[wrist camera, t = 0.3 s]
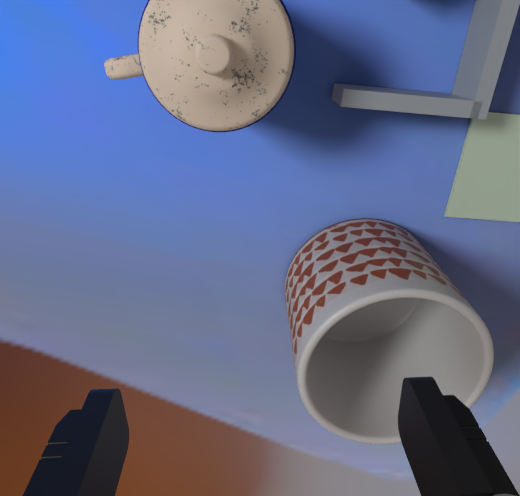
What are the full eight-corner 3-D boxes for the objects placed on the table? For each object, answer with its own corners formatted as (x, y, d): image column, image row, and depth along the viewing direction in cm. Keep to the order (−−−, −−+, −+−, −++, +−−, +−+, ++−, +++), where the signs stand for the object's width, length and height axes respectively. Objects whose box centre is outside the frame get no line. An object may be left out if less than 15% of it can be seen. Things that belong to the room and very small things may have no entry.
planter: (435, 210, 40) (511, 282, 29) (422, 337, 46) (481, 439, 35) (280, 222, 40) (294, 299, 29) (287, 347, 46) (300, 452, 35)
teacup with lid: (275, -34, 32) (290, -65, 22) (291, 100, 36) (310, 129, 25) (108, -4, 33) (42, -20, 22) (142, 124, 36) (99, 163, 26)
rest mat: (473, 110, 37) (475, 111, 36) (580, 120, 37) (583, 120, 37) (444, 215, 40) (445, 216, 40) (541, 222, 41) (543, 223, 41)
